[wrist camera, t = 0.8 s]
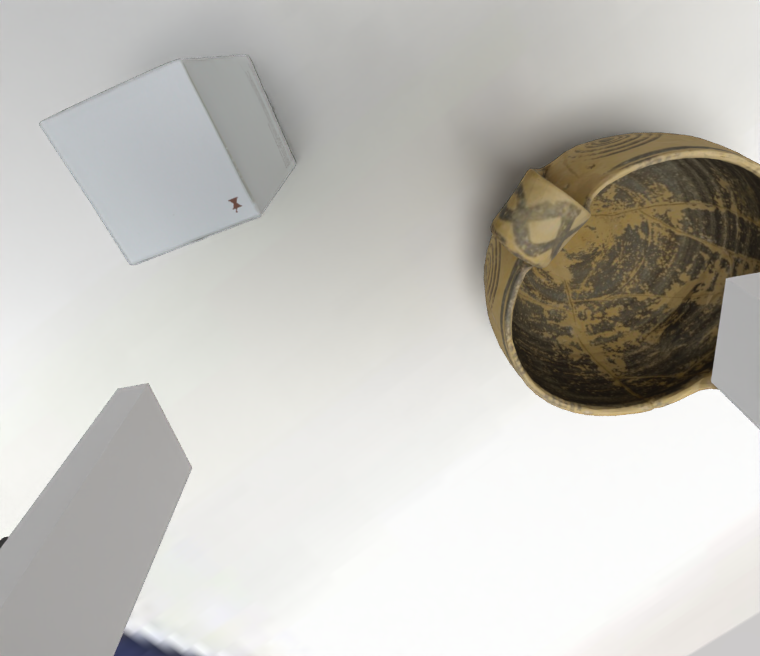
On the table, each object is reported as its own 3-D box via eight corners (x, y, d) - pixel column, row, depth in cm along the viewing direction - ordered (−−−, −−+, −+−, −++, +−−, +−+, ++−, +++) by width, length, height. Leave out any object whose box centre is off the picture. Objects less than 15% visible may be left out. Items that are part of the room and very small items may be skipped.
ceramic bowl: (769, 224, 37) (986, 320, 24) (603, 383, 44) (702, 525, 31) (544, 33, 31) (671, 21, 18) (391, 251, 38) (402, 359, 25)
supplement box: (249, 50, 31) (184, 52, 20) (299, 166, 35) (266, 221, 24) (146, 95, 33) (30, 119, 21) (203, 203, 36) (129, 271, 25)
